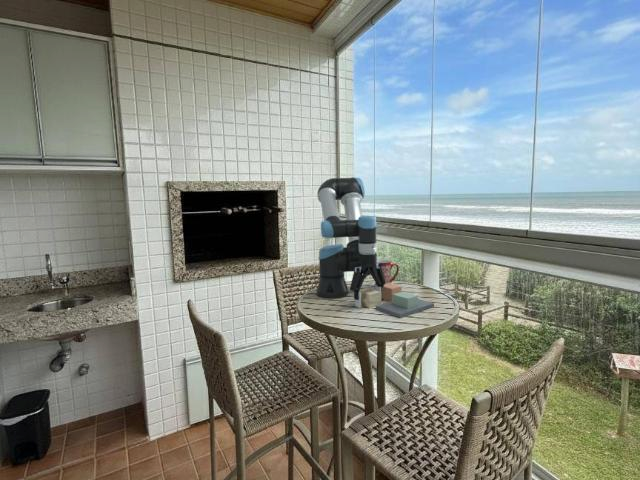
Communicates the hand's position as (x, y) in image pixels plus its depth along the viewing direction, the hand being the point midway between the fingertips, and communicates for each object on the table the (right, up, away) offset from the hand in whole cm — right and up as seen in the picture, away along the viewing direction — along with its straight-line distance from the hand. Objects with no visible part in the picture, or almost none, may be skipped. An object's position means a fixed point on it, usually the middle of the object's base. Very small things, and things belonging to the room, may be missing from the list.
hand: (368, 304), depth 141 cm
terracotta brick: (+11, +1, +7) cm, 13 cm away
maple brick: (0, 0, 0) cm, 0 cm away
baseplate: (+14, -1, -6) cm, 15 cm away
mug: (+13, +3, +27) cm, 30 cm away
